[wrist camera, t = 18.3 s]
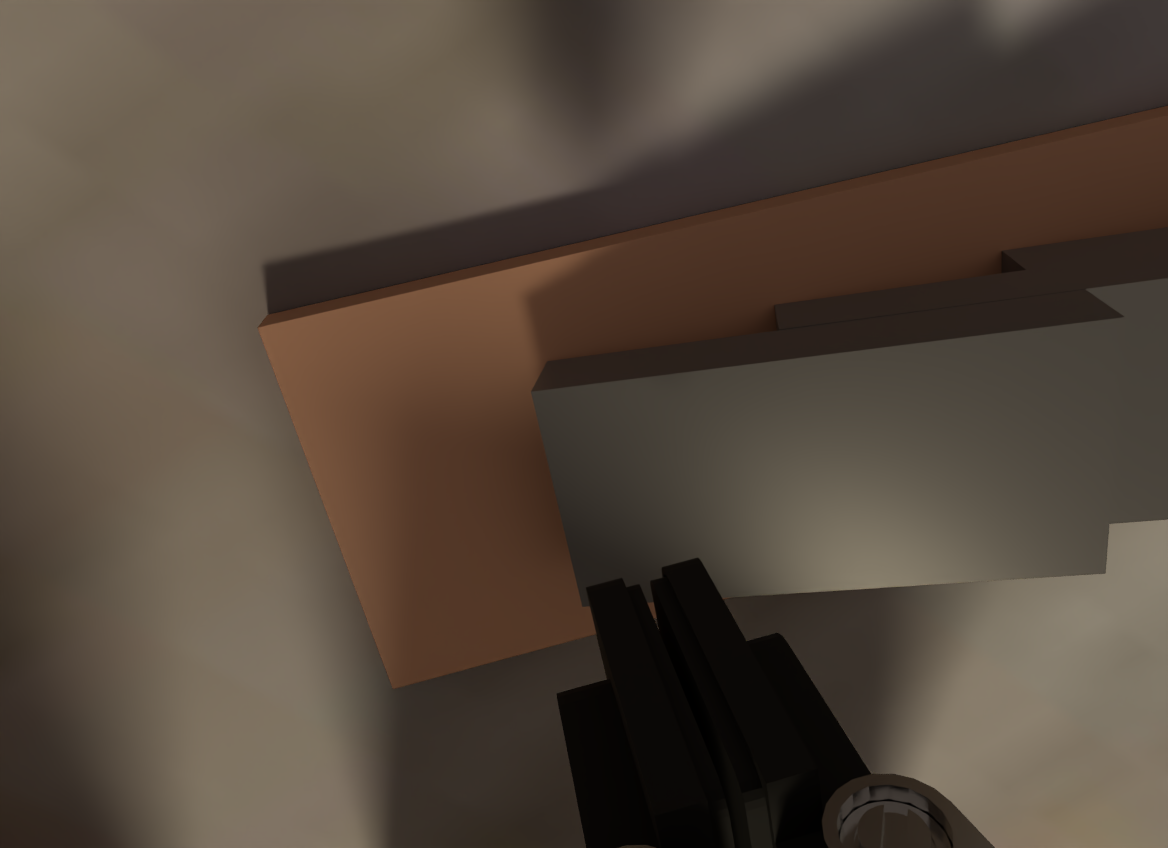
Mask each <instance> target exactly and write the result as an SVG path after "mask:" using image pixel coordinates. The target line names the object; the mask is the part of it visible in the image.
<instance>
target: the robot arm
mask: <svg viewBox="0 0 1168 848" xmlns="http://www.w3.org/2000/svg"><path fill="white" fill-rule="evenodd" d="M661 570H662V578H659V579H655V580H651V581H650V586H651V592H652V597H653V602H654V607H655V612H656V617H657V622H658V627H659V630H658V628H657V625H656V623H655V620H654V618H653V615H652V613H651V611H650V608H649V606H648V603H647V601H646V598H645V596H644V593H643V591H642V589H641V586H640V584H636V585H632V586H629V587H626V585H625V583H624V581H623V579H622V578H619V579H615V580H611V581H608V582H604V583H600V584H596V585H592V586H589V587H586V592H587V596H588V601H589V605H590V609H591V613H592V618H593V622H594V626H595V630H596V635H597V639H598V643H599V647H600V651H601V656H602V660H603V664H604V668H605V673H606V677H607V680H604V681H600V682H597V683H593V684H589V685H586V686H582V687H578V688H575V689H571V690H568V691H564V692H560V693H557V699H558V705H559V710H560V715H561V720H562V725H563V731H564V736H565V741H566V746H567V751H568V756H569V761H570V766H571V771H572V777H573V782H574V787H575V792H576V797H577V802H578V807H579V812H580V817H581V823H582V828H583V833H584V838H585V843H586V848H995V847H994V846H993V845H992V844H991V843H990V842H989V841H988V840H987V839H986V838H985V837H984V836H983V835H982V834H981V833H980V832H979V831H978V829H977V828H976V827H975V826H974V825H973V824H972V823H971V822H970V821H969V820H968V819H967V818H966V817H965V816H964V815H963V814H962V813H961V812H960V811H959V810H958V808H957V807H956V806H955V805H954V804H953V803H952V802H951V801H949V800H948V799H947V798H946V797H944V796H943V795H942V794H941V793H940V792H938V791H937V790H936V789H935V788H933V787H931V786H929V785H926V784H924V783H922V782H920V781H918V780H916V779H914V778H909V777H905V776H900V775H896V774H871V773H870V772H869V770H868V769H867V767H866V765H865V764H864V762H863V761H862V759H861V758H860V756H859V754H858V753H857V751H856V750H855V748H854V747H853V745H852V743H851V742H850V740H849V739H848V737H847V736H846V734H845V732H844V731H843V729H842V728H841V726H840V725H839V723H838V721H837V720H836V718H835V717H834V715H833V714H832V712H831V710H830V709H829V707H828V706H827V704H826V703H825V701H824V699H823V698H822V696H821V695H820V693H819V692H818V690H817V688H816V687H815V685H814V684H813V682H812V681H811V679H810V677H809V676H808V674H807V673H806V671H805V670H804V668H803V666H802V665H801V663H800V662H799V660H798V659H797V657H796V655H795V654H794V652H793V651H792V649H791V648H790V646H789V644H788V643H787V641H786V640H785V639H784V638H783V636H782V635H780V634H779V633H775V634H771V635H768V636H764V637H761V638H757V639H753V640H750V641H746V640H745V638H744V636H743V634H742V632H741V631H740V629H739V627H738V625H737V624H736V622H735V620H734V618H733V616H732V615H731V613H730V611H729V609H728V608H727V606H726V604H725V602H724V600H723V599H722V597H721V595H720V593H719V592H718V590H717V588H716V586H715V584H714V583H713V581H712V579H711V577H710V576H709V574H708V572H707V570H706V569H705V567H704V565H703V563H702V562H701V560H700V559H699V558H694V559H691V560H687V561H683V562H679V563H675V564H672V565H668V566H664V567H662V569H661ZM659 632H660V633H659Z"/></svg>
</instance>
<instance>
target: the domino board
mask: <svg viewBox="0 0 1168 848" xmlns="http://www.w3.org/2000/svg"><path fill="white" fill-rule="evenodd" d="M1165 227H1168V106H1164V107H1160V108H1155V109H1151V110H1147V111H1142V112H1138V113H1134V114H1130V115H1125V116H1121V117H1117V118H1112V119H1108V120H1104V121H1099V122H1095V123H1091V124H1087V125H1082V126H1078V127H1074V128H1069V129H1065V130H1061V131H1056V132H1052V133H1048V134H1044V135H1039V136H1035V137H1031V138H1026V139H1022V140H1018V141H1013V142H1009V143H1005V144H1001V145H996V146H992V147H988V148H983V149H979V150H975V151H970V152H966V153H962V154H957V155H953V156H949V157H945V158H940V159H936V160H932V161H927V162H923V163H919V164H914V165H910V166H906V167H902V168H897V169H893V170H889V171H884V172H880V173H876V174H871V175H867V176H863V177H859V178H854V179H850V180H846V181H841V182H837V183H833V184H828V185H824V186H820V187H816V188H811V189H807V190H803V191H798V192H794V193H790V194H785V195H781V196H777V197H772V198H768V199H764V200H760V201H755V202H751V203H747V204H742V205H738V206H734V207H729V208H725V209H721V210H717V211H712V212H708V213H704V214H699V215H695V216H691V217H686V218H682V219H678V220H674V221H669V222H665V223H661V224H656V225H652V226H648V227H643V228H639V229H635V230H631V231H626V232H622V233H618V234H613V235H609V236H605V237H600V238H596V239H592V240H588V241H583V242H579V243H575V244H570V245H566V246H562V247H557V248H553V249H549V250H544V251H540V252H536V253H532V254H527V255H523V256H519V257H514V258H510V259H506V260H501V261H497V262H493V263H489V264H484V265H480V266H476V267H471V268H467V269H463V270H458V271H454V272H450V273H446V274H441V275H437V276H433V277H428V278H424V279H420V280H415V281H411V282H407V283H403V284H398V285H394V286H390V287H385V288H381V289H377V290H372V291H368V292H364V293H360V294H355V295H351V296H347V297H342V298H338V299H334V300H329V301H325V302H321V303H316V304H312V305H308V306H304V307H299V308H295V309H291V310H286V311H282V312H278V313H273V314H269V315H267V316H266V318H265V319H264V320H263V322H262V323H261V324H260V325H259V327H258V330H259V333H260V336H261V338H262V341H263V344H264V346H265V349H266V352H267V354H268V357H269V360H270V362H271V365H272V368H273V370H274V373H275V376H276V378H277V381H278V384H279V386H280V389H281V392H282V394H283V397H284V400H285V402H286V405H287V408H288V410H289V413H290V416H291V418H292V421H293V424H294V426H295V429H296V432H297V434H298V437H299V440H300V442H301V445H302V448H303V450H304V453H305V456H306V458H307V461H308V464H309V466H310V469H311V472H312V474H313V477H314V480H315V482H316V485H317V488H318V490H319V493H320V496H321V498H322V501H323V504H324V506H325V509H326V512H327V514H328V517H329V520H330V523H331V525H332V528H333V531H334V533H335V536H336V539H337V541H338V544H339V547H340V549H341V552H342V555H343V557H344V560H345V563H346V565H347V568H348V571H349V573H350V576H351V579H352V581H353V584H354V587H355V589H356V592H357V595H358V597H359V600H360V603H361V605H362V608H363V611H364V613H365V616H366V619H367V621H368V624H369V627H370V629H371V632H372V635H373V637H374V640H375V643H376V645H377V648H378V651H379V653H380V656H381V659H382V661H383V664H384V667H385V669H386V672H387V675H388V677H389V680H390V683H391V685H392V688H393V689H396V688H399V687H403V686H407V685H410V684H414V683H418V682H421V681H425V680H429V679H433V678H436V677H440V676H444V675H447V674H451V673H455V672H458V671H462V670H466V669H469V668H473V667H477V666H481V665H484V664H488V663H492V662H495V661H499V660H503V659H506V658H510V657H514V656H517V655H521V654H525V653H529V652H532V651H536V650H540V649H543V648H547V647H551V646H554V645H558V644H562V643H566V642H569V641H573V640H577V639H580V638H584V637H588V636H591V635H595V634H596V630H595V626H594V622H593V618H592V613H591V609H590V606H589V607H582V603H581V599H580V595H579V591H578V587H577V583H576V578H575V574H574V570H573V566H572V562H571V557H570V553H569V549H568V545H567V541H566V537H565V532H564V528H563V524H562V520H561V516H560V512H559V507H558V503H557V499H556V495H555V491H554V486H553V482H552V478H551V474H550V470H549V466H548V461H547V457H546V453H545V449H544V445H543V440H542V436H541V432H540V428H539V424H538V420H537V415H536V411H535V407H534V403H533V399H532V395H531V391H532V389H533V387H534V385H535V383H536V381H537V379H538V377H539V376H540V374H541V372H542V370H543V368H544V366H545V364H546V363H547V361H553V360H560V359H567V358H575V357H582V356H590V355H597V354H605V353H612V352H620V351H627V350H635V349H642V348H650V347H657V346H665V345H672V344H680V343H687V342H695V341H702V340H710V339H717V338H725V337H732V336H740V335H747V334H755V333H762V332H770V331H777V326H776V316H775V306H774V305H776V304H784V303H791V302H798V301H805V300H813V299H820V298H827V297H834V296H841V295H849V294H856V293H863V292H870V291H877V290H885V289H892V288H899V287H906V286H914V285H921V284H928V283H935V282H942V281H950V280H957V279H964V278H971V277H978V276H986V275H993V274H1000V273H1002V251H1003V250H1010V249H1017V248H1024V247H1031V246H1038V245H1045V244H1052V243H1059V242H1066V241H1073V240H1080V239H1087V238H1094V237H1101V236H1108V235H1116V234H1123V233H1130V232H1137V231H1144V230H1151V229H1158V228H1165ZM730 598H732V597H730ZM722 599H723V600H724V599H728V598H722ZM648 606H649V608H650V611H651V613H652V615H653V618H657V617H656V612H655V607H654V602H651V603H648Z"/></svg>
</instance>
